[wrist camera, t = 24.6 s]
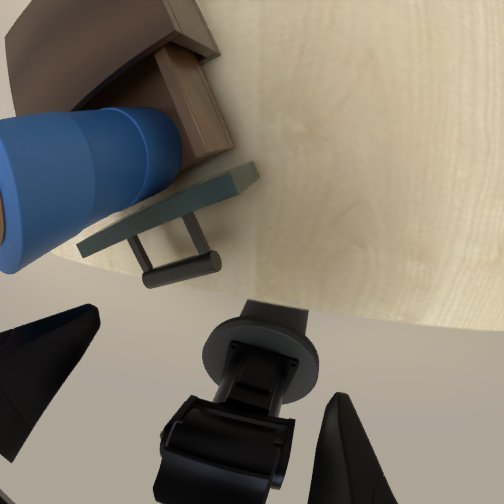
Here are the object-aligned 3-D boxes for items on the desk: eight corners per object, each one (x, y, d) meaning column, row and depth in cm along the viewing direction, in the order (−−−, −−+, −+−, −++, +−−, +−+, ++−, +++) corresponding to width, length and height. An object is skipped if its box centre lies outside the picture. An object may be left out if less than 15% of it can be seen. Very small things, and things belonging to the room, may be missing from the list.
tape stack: (200, 139, 17) (31, 180, 6) (154, 212, 20) (19, 303, 9) (133, 92, 16) (-28, 100, 6) (98, 164, 19) (-39, 216, 9)
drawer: (282, 236, 20) (269, 269, 15) (140, 277, 24) (109, 306, 20) (192, 20, 14) (156, -1, 10) (69, 111, 19) (28, 116, 15)
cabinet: (221, 55, 16) (175, 30, 10) (83, 144, 21) (27, 158, 16) (166, -52, 12) (123, -83, 6) (53, 39, 17) (4, 37, 11)
